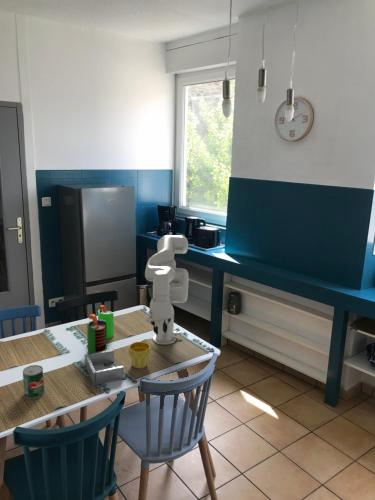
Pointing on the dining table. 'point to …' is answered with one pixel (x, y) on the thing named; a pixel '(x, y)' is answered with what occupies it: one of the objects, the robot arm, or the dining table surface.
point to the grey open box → (105, 374)
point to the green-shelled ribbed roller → (109, 318)
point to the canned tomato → (33, 381)
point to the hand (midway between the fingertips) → (160, 332)
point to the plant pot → (139, 354)
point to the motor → (96, 335)
